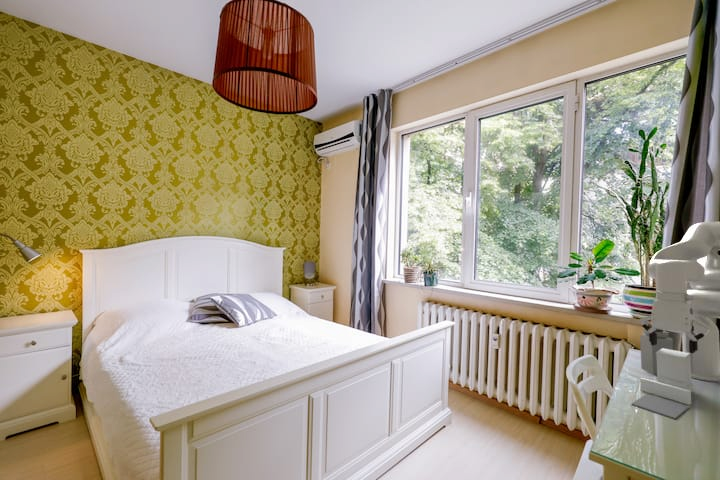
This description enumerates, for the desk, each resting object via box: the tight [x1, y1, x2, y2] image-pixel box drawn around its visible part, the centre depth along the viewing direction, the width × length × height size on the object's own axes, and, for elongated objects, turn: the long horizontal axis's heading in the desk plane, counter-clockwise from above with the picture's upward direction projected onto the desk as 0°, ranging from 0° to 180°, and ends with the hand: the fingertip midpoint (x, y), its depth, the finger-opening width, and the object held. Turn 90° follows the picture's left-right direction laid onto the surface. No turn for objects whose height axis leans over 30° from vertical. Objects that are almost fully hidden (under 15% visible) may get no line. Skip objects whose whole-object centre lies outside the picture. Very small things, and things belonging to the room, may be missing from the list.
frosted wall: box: [639, 377, 692, 406], centre depth 105 cm, size 1×12×4 cm, turn 31°
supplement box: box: [656, 348, 693, 392], centre depth 109 cm, size 7×7×13 cm
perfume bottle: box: [639, 323, 674, 376], centre depth 125 cm, size 7×7×18 cm
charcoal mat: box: [631, 393, 690, 420], centre depth 99 cm, size 12×10×1 cm
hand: (672, 348), depth 109 cm, fingers open, 9 cm apart
